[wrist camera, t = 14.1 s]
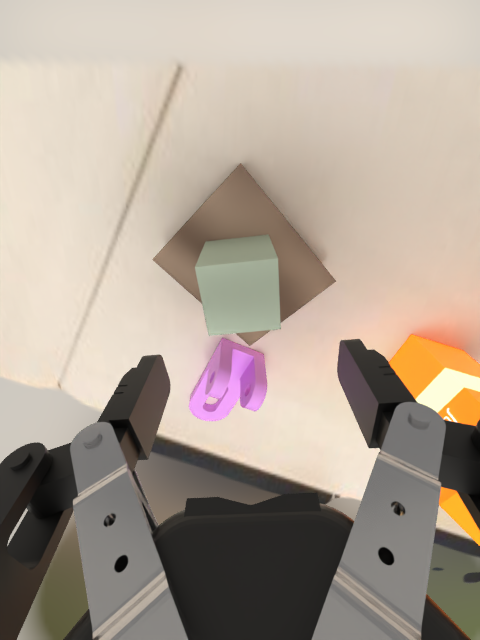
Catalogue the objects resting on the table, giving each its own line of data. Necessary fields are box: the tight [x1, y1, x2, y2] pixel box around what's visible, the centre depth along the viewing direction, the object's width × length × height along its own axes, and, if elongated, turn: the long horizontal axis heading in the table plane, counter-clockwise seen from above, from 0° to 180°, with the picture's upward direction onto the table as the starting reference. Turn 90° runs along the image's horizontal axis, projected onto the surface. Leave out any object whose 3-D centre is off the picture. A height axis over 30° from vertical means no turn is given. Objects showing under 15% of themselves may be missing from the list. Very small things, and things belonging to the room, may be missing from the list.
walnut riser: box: [152, 164, 336, 346], centre depth 25 cm, size 10×12×5 cm
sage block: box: [195, 234, 281, 336], centre depth 20 cm, size 5×5×6 cm
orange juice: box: [389, 334, 480, 546], centre depth 25 cm, size 8×9×20 cm
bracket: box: [189, 338, 267, 421], centre depth 32 cm, size 13×6×7 cm, turn 154°
